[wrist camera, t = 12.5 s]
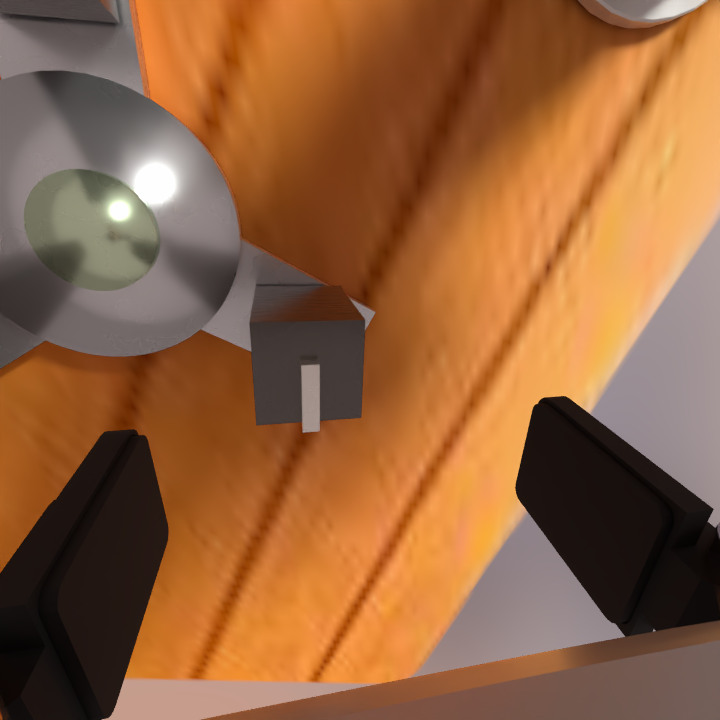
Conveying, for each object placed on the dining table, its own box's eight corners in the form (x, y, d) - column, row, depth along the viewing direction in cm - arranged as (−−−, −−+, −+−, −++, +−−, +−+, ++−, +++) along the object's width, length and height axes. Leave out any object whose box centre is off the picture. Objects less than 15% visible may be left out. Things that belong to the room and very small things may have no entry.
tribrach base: (381, -110, 17) (399, -159, 14) (369, 377, 25) (379, 395, 23) (-466, -247, 12) (-648, -356, 10) (-126, 413, 20) (-178, 442, 18)
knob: (255, 286, 21) (248, 326, 14) (340, 285, 22) (368, 323, 15) (260, 368, 22) (256, 436, 16) (338, 364, 23) (363, 427, 17)
